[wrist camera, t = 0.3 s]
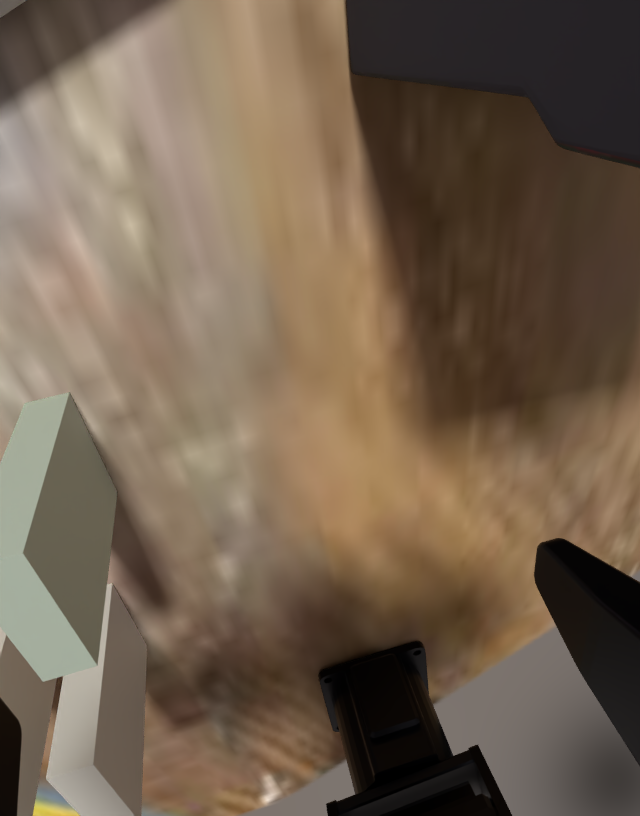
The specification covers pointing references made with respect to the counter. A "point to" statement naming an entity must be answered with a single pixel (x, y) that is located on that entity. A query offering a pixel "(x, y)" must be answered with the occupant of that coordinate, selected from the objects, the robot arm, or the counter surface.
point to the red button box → (8, 6)
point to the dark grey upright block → (517, 59)
